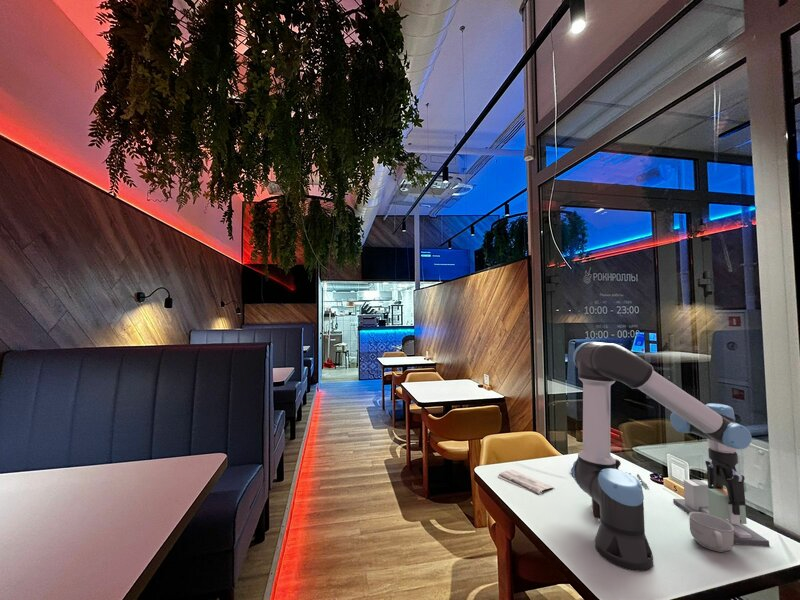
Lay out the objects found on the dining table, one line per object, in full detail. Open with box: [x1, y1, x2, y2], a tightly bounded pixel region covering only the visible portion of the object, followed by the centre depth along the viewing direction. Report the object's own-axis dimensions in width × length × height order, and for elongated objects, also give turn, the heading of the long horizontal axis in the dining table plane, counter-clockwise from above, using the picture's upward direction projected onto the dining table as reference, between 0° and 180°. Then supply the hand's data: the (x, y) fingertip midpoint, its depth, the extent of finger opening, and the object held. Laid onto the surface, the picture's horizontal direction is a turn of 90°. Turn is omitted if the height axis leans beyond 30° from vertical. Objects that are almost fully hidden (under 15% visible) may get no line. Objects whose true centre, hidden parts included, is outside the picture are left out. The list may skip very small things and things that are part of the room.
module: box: [708, 488, 748, 525], centre depth 120 cm, size 8×5×9 cm, turn 84°
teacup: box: [688, 512, 734, 553], centre depth 110 cm, size 14×11×8 cm
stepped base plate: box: [672, 479, 770, 547], centre depth 124 cm, size 12×26×11 cm, turn 174°
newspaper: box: [497, 469, 554, 495], centre depth 155 cm, size 23×12×2 cm, turn 32°
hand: (727, 518), depth 119 cm, fingers closed on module, 5 cm apart
